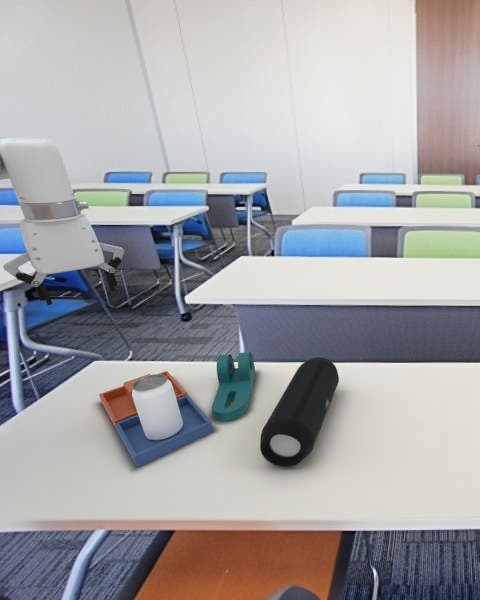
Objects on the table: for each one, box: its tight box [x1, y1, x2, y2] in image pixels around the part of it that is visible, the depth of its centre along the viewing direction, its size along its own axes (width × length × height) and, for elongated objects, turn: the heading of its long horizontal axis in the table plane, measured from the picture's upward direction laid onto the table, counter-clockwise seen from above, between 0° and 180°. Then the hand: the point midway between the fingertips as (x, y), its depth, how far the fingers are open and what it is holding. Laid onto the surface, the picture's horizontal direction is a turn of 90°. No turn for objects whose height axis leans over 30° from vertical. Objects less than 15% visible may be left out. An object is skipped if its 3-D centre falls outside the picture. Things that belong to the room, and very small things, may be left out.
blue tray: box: [115, 394, 214, 468], centre depth 82 cm, size 13×13×2 cm
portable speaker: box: [259, 356, 340, 468], centre depth 84 cm, size 26×10×10 cm, turn 2°
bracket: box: [211, 351, 257, 422], centre depth 92 cm, size 18×7×8 cm, turn 17°
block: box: [123, 373, 151, 411], centre depth 89 cm, size 5×5×5 cm
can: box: [132, 373, 183, 441], centre depth 80 cm, size 6×6×12 cm
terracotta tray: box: [98, 370, 188, 431], centre depth 90 cm, size 13×13×2 cm
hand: (81, 296), depth 80 cm, fingers open, 9 cm apart
